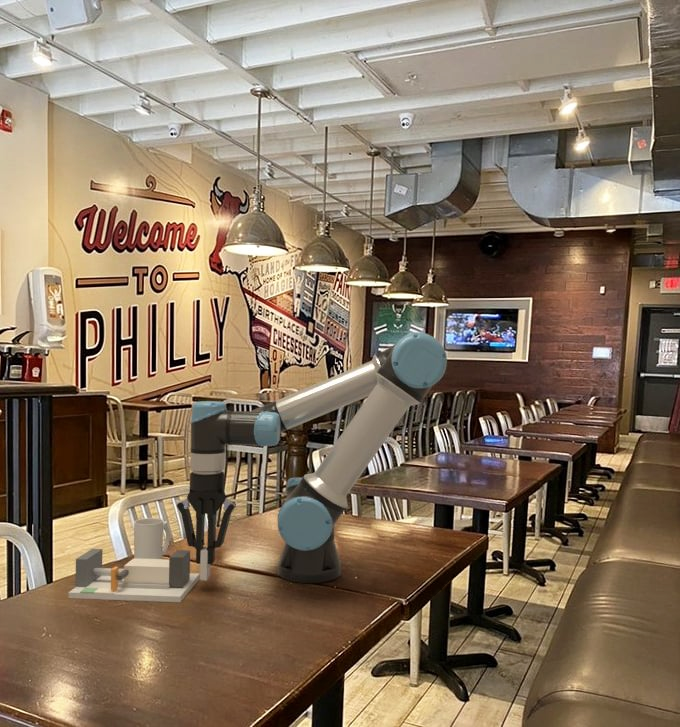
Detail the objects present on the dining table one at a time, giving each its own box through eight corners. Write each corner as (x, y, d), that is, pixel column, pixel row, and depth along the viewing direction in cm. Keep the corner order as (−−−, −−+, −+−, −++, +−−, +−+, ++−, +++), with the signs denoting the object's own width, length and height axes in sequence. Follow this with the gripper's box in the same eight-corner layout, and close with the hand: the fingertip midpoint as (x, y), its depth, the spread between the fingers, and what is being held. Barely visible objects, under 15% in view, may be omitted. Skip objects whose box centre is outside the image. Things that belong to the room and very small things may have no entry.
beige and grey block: (189, 578, 144) (190, 550, 144) (176, 593, 134) (177, 562, 135) (133, 576, 144) (133, 548, 144) (116, 591, 135) (117, 560, 135)
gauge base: (199, 578, 148) (200, 547, 148) (180, 602, 133) (180, 567, 133) (98, 575, 150) (98, 544, 150) (67, 598, 135) (68, 564, 135)
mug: (146, 577, 149) (147, 526, 149) (127, 572, 152) (128, 522, 152) (178, 566, 157) (179, 517, 157) (159, 561, 161) (160, 514, 161)
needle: (118, 587, 137) (118, 566, 137) (114, 590, 135) (114, 569, 135) (114, 587, 137) (114, 566, 137) (110, 590, 135) (111, 569, 135)
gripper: (240, 469, 144) (237, 573, 144) (183, 467, 145) (181, 571, 145) (232, 475, 137) (230, 585, 137) (173, 473, 138) (170, 582, 137)
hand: (204, 578), depth 141 cm, fingers closed
